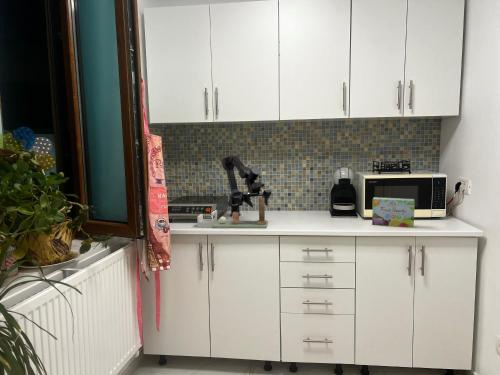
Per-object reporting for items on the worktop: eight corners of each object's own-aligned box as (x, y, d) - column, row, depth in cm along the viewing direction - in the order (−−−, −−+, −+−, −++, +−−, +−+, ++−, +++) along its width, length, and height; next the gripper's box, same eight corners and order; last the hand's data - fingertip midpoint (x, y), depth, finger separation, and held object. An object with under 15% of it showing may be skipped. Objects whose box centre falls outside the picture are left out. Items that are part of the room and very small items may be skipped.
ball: (220, 222, 211) (220, 216, 210) (227, 222, 210) (226, 216, 210) (218, 224, 207) (218, 217, 206) (225, 224, 206) (225, 217, 206)
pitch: (203, 222, 217) (202, 209, 216) (268, 222, 213) (267, 209, 212) (197, 227, 203) (196, 213, 203) (266, 228, 199) (266, 213, 198)
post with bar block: (233, 222, 210) (232, 197, 209) (266, 222, 208) (266, 197, 207) (231, 224, 206) (231, 198, 204) (266, 224, 203) (265, 198, 202)
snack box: (371, 225, 201) (372, 198, 200) (372, 223, 207) (373, 196, 205) (413, 228, 193) (414, 200, 191) (413, 225, 198) (414, 198, 196)
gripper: (240, 177, 207) (248, 199, 198) (269, 175, 214) (279, 196, 205) (235, 190, 215) (243, 211, 206) (264, 188, 222) (272, 208, 213)
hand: (260, 206), depth 207 cm, fingers open, 9 cm apart
